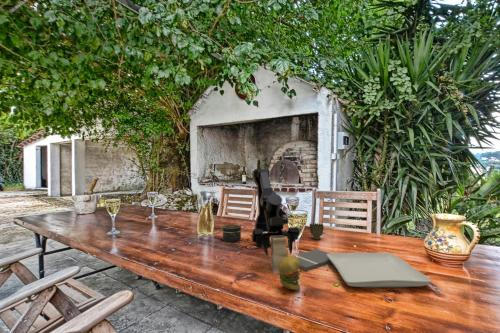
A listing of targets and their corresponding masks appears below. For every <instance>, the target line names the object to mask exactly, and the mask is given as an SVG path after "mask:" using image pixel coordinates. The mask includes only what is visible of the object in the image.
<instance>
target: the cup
mask: <svg viewBox="0 0 500 333" xmlns="http://www.w3.org/2000/svg"><path fill="white" fill-rule="evenodd" d="M309 231H310V235H311V236H312V238H313V240H317V241H318V240H320V239H321V236H323V233H324V224H323V223H318V222H317V223H316V222H314V223H309Z"/></svg>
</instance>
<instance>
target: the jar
mask: <svg viewBox="0 0 500 333" xmlns="http://www.w3.org/2000/svg"><path fill="white" fill-rule="evenodd" d="M241 238H242V228H241V225H239V224H226V225H223V226H222V239H223V241H224V242H225V243H230V244H232V243H238V242H240V241H241Z"/></svg>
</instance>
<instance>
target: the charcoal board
mask: <svg viewBox="0 0 500 333" xmlns="http://www.w3.org/2000/svg"><path fill="white" fill-rule="evenodd" d="M329 253H330V252H327V251H323V250H321V249H318V248H317V249H313V250H308V251H304V252H301V253H298V259H299V260H300V263H301V266H300V268H299V269H300V270H301V271H304V272H309V271H312V270H315V269H318V268H320V267H325V266H327V265H330V264H333V263H332V262H331V261H330V259H329V258H328V257H327V255H326V254H329ZM296 255H297V254H293V255H292V256H295V257H296ZM299 269H298V270H299Z"/></svg>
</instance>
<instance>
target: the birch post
mask: <svg viewBox="0 0 500 333" xmlns="http://www.w3.org/2000/svg"><path fill="white" fill-rule="evenodd" d="M270 244H271V246H270V270H271V272H272V273H273V275H279V269H278V266H279V263H280V261H281V260H282V259H283V258H285V257H287V256H288V255H287V253H288V252H287V238H286V236H283V235H279V236H271V237H270ZM282 254H284V256H285V257H284V256H283V255H282Z"/></svg>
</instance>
